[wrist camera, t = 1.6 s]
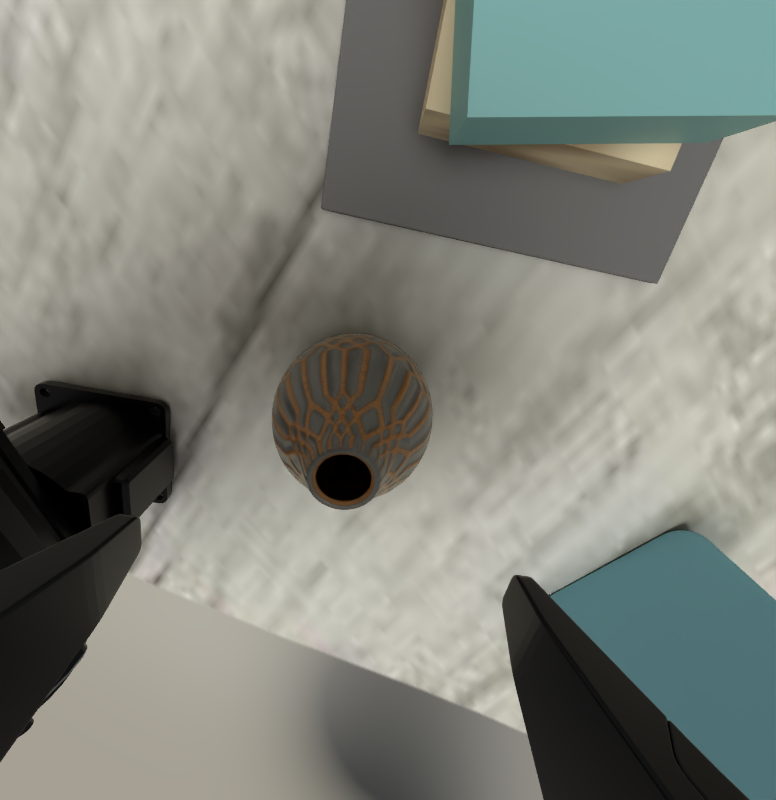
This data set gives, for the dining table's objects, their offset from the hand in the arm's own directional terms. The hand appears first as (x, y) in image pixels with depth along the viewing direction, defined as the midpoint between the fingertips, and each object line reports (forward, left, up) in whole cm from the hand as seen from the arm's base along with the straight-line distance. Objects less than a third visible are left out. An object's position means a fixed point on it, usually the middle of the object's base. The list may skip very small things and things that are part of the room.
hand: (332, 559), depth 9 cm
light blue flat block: (+20, -11, -12) cm, 26 cm away
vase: (0, 0, -12) cm, 12 cm away
